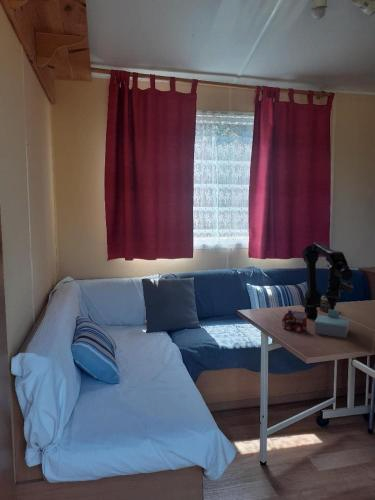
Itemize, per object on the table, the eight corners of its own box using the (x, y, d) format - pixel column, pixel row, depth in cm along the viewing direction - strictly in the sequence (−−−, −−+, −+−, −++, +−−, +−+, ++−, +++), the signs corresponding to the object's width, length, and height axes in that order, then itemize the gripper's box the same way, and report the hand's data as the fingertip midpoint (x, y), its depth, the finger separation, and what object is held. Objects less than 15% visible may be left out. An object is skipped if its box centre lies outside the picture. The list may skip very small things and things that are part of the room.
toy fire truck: (284, 326, 185) (285, 307, 184) (309, 331, 178) (309, 310, 177) (280, 330, 179) (280, 310, 178) (305, 334, 173) (305, 314, 172)
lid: (314, 324, 172) (314, 314, 171) (318, 317, 183) (318, 308, 182) (347, 328, 165) (347, 318, 164) (349, 321, 176) (349, 311, 175)
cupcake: (336, 309, 219) (336, 293, 218) (333, 313, 211) (334, 296, 210) (320, 307, 224) (320, 292, 223) (316, 311, 216) (317, 295, 215)
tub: (314, 334, 172) (315, 322, 172) (318, 328, 183) (318, 316, 182) (346, 339, 166) (346, 326, 165) (348, 332, 176) (348, 320, 176)
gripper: (351, 281, 165) (349, 314, 166) (353, 275, 181) (352, 305, 182) (325, 279, 170) (324, 311, 171) (330, 273, 186) (329, 302, 188)
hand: (333, 307), depth 178 cm, fingers open, 9 cm apart
